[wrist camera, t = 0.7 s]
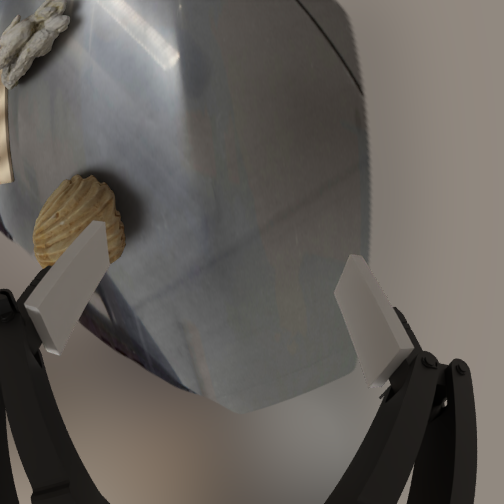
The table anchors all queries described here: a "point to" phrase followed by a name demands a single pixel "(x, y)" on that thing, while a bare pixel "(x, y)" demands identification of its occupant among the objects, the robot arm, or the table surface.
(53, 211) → the fossil
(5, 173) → the board
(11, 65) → the mineral
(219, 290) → the table surface
